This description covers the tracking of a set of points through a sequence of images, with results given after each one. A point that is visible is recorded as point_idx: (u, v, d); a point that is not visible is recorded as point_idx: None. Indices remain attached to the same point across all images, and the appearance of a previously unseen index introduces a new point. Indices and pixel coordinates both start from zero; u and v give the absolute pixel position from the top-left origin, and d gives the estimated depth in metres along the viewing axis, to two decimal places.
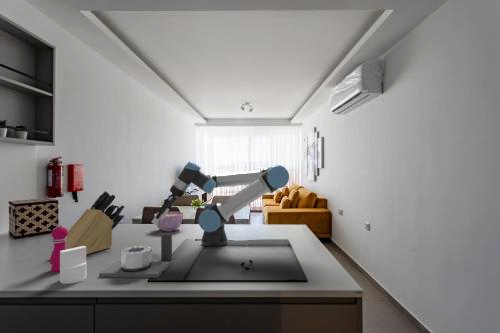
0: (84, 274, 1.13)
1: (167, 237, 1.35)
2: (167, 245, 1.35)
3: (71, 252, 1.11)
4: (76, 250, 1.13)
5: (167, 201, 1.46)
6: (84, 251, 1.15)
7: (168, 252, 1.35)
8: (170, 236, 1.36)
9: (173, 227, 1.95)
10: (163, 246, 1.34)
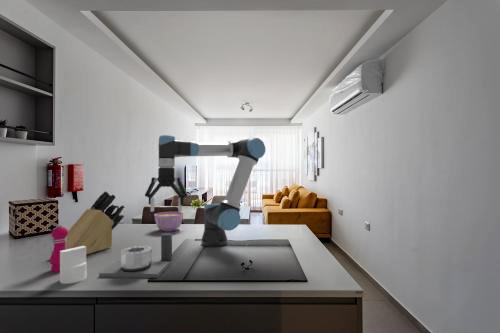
0: (84, 274, 1.13)
1: (167, 237, 1.35)
2: (167, 245, 1.35)
3: (71, 252, 1.11)
4: (76, 250, 1.13)
5: (181, 183, 1.37)
6: (84, 251, 1.15)
7: (168, 252, 1.35)
8: (170, 236, 1.36)
9: (173, 227, 1.95)
10: (163, 246, 1.34)
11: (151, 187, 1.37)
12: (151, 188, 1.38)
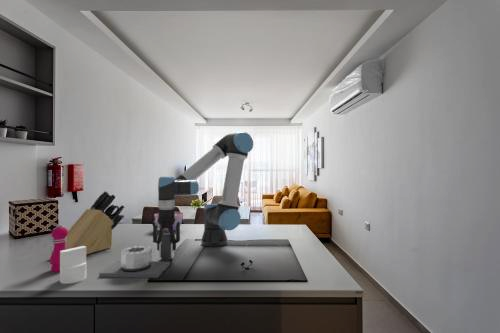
0: (84, 274, 1.13)
1: (167, 237, 1.35)
2: (167, 245, 1.35)
3: (71, 252, 1.11)
4: (76, 250, 1.13)
5: (178, 228, 1.36)
6: (84, 251, 1.15)
7: (168, 252, 1.35)
8: (170, 236, 1.36)
9: (173, 227, 1.95)
10: (163, 245, 1.34)
11: (155, 231, 1.36)
12: (156, 232, 1.37)
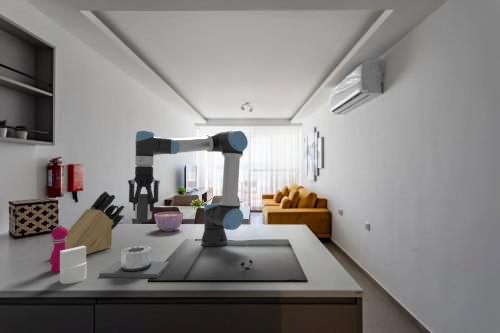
0: (84, 274, 1.13)
1: (144, 196, 1.24)
2: (143, 205, 1.24)
3: (71, 252, 1.11)
4: (76, 250, 1.13)
5: (157, 187, 1.25)
6: (84, 251, 1.15)
7: (144, 213, 1.24)
8: (147, 195, 1.25)
9: (173, 227, 1.95)
10: (140, 205, 1.23)
11: (132, 190, 1.25)
12: (132, 192, 1.26)
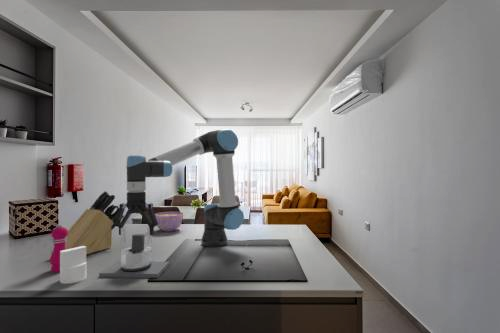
0: (84, 274, 1.13)
1: (138, 238, 1.20)
2: (138, 247, 1.20)
3: (71, 252, 1.11)
4: (76, 250, 1.13)
5: (152, 210, 1.22)
6: (84, 251, 1.15)
7: None
8: (142, 237, 1.21)
9: (173, 227, 1.95)
10: (134, 247, 1.20)
11: (120, 215, 1.22)
12: (120, 216, 1.22)
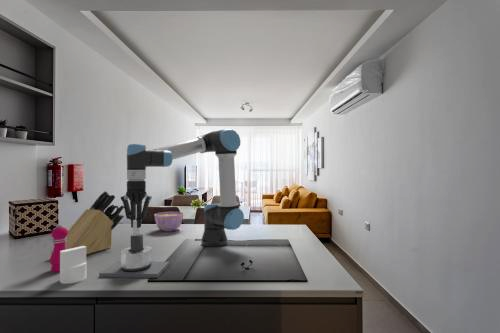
0: (84, 274, 1.13)
1: (137, 238, 1.20)
2: (136, 248, 1.20)
3: (71, 252, 1.11)
4: (76, 250, 1.13)
5: (147, 203, 1.22)
6: (84, 251, 1.15)
7: None
8: (140, 237, 1.21)
9: (173, 227, 1.95)
10: (133, 248, 1.20)
11: (127, 206, 1.21)
12: (128, 207, 1.22)
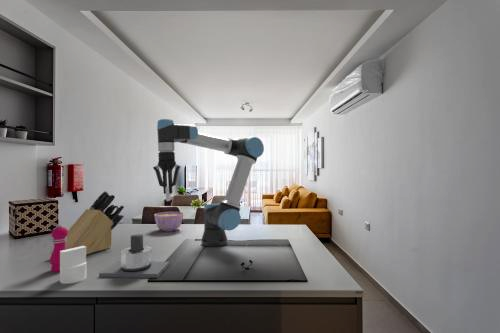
0: (84, 274, 1.13)
1: (137, 238, 1.20)
2: (136, 248, 1.20)
3: (71, 252, 1.11)
4: (76, 250, 1.13)
5: (177, 172, 1.37)
6: (84, 251, 1.15)
7: None
8: (141, 237, 1.21)
9: (173, 227, 1.95)
10: (133, 248, 1.20)
11: (159, 175, 1.37)
12: (160, 176, 1.37)
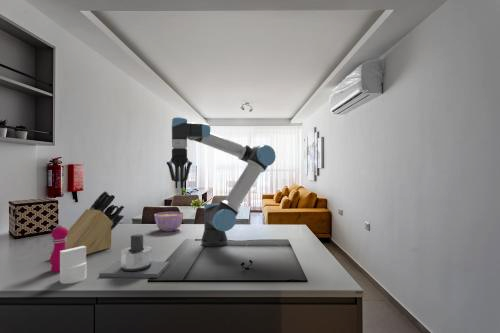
0: (84, 274, 1.13)
1: (137, 238, 1.20)
2: (137, 248, 1.20)
3: (71, 252, 1.11)
4: (76, 250, 1.13)
5: (189, 168, 1.44)
6: (84, 251, 1.15)
7: None
8: (141, 237, 1.21)
9: (173, 227, 1.95)
10: (133, 248, 1.20)
11: (172, 170, 1.44)
12: (172, 171, 1.45)
